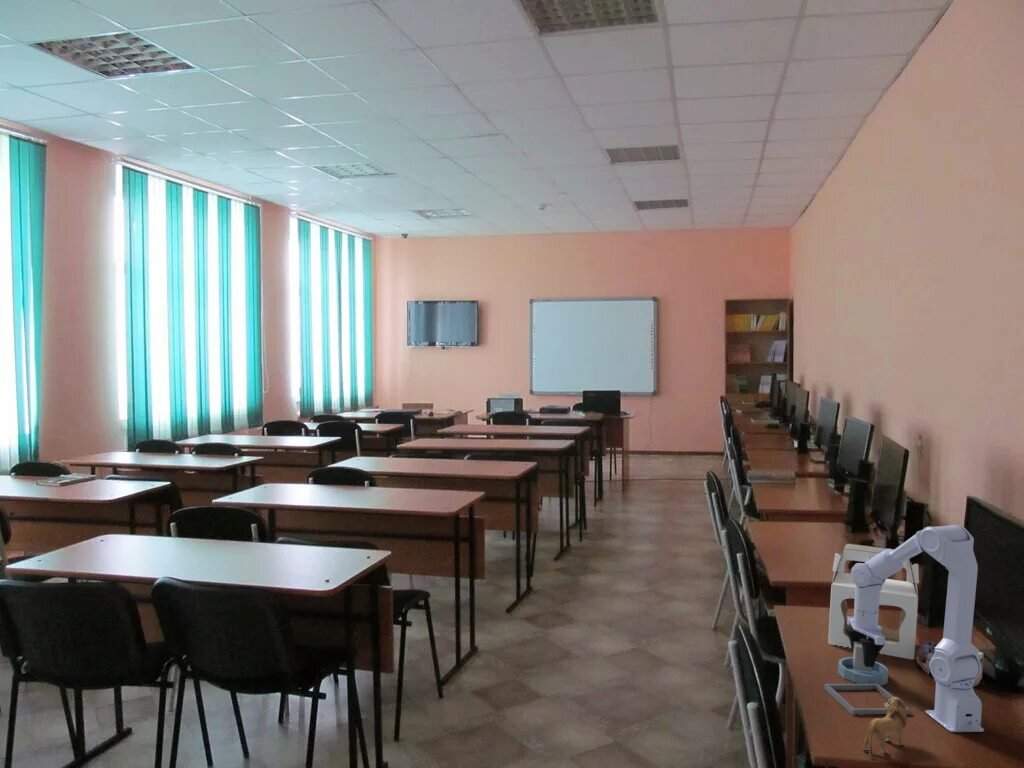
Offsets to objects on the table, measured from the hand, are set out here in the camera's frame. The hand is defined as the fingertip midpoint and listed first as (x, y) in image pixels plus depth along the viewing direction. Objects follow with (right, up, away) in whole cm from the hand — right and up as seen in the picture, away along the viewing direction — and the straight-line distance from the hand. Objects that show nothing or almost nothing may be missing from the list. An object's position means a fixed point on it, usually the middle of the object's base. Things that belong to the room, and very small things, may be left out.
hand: (863, 661), depth 202 cm
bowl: (0, -4, 0) cm, 4 cm away
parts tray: (-6, -4, -14) cm, 16 cm away
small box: (+26, -5, -1) cm, 27 cm away
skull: (+20, -4, +6) cm, 22 cm away
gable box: (+12, -3, +22) cm, 26 cm away
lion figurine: (-11, -6, -35) cm, 37 cm away
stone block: (0, -2, 0) cm, 2 cm away
